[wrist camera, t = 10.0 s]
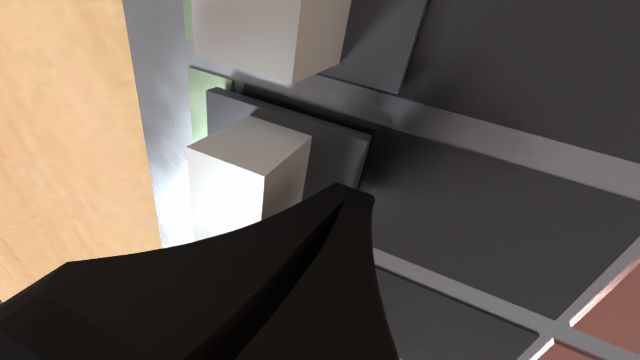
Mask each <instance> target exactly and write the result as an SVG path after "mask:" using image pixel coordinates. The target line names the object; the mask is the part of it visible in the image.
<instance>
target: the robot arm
mask: <svg viewBox="0 0 640 360" xmlns="http://www.w3.org/2000/svg"><path fill="white" fill-rule="evenodd" d="M374 203H375V198H374V196H373V195H371V194H368V193H365V192H363V191H360V190H357V189H354V188H351V187H349V186H346V185H343V184H340V183H337V182H335V183H333V184H331V185H329V186H328V187H326V188H324V189H322V190H321V191H319V192H317V193H316V194H314V195H312V196H310V197H308V198H307V199H305V200H303V201H301V202H299V203H297V204H295V205H293V206H291V207H289V208H287V209H285V210H283V211H281V212H279V213H277V214H274V215H272V216H270V217H268V218H266V219H263V220H261V221H258V222H256V223H253V224H251V225H248V226H245V227H242V228H240V229H237V230H234V231H231V232H227V233H224V234H220V235H217V236H213V237H209V238H206V239H202V240H198V241H194V242H191V243H186V244H182V245H177V246H172V247H168V248H163V249H157V250H152V251H146V252H140V253H134V254H128V255H120V256H112V257H105V258H97V259H89V260H82V261H72V262H67V263H65V264H63V265H62V266H60V267H58V268H57V269H55V270H54V271H52V272H51V273H49V274H47V275H46V276H44V277H43V278H41V279H40V280H38V281H36V282H35V283H33V284H32V285H30V286H29V287H27V288H26V289H24V290H22V291H21V292H19V293H18V294H16V295H15V296H13V297H11V298H10V299H8V300H7V301H5V302H4V303H2V304H1V305H0V360H400V359H399V356H398V353H397V350H396V347H395V344H394V341H393V337H392V334H391V331H390V328H389V325H388V322H387V318H386V315H385V311H384V307H383V303H382V299H381V295H380V290H379V286H378V281H377V275H376V269H375V262H374V255H373V245H372V211H373V206H374Z"/></svg>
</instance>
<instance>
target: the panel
mask: <svg viewBox="0 0 640 360" xmlns="http://www.w3.org/2000/svg"><path fill="white" fill-rule="evenodd" d="M122 1H123V7H124V14H125V20H126V26H127V32H128V38H129V44H130V51H131V57H132V63H133V69H134V75H135V82H136V88H137V94H138V100H139V106H140V113H141V119H142V125H143V131H144V137H145V143H146V150H147V156H148V162H149V168H150V174H151V181H152V187H153V193H154V199H155V205H156V211H157V218H158V224H159V230H160V236H161V242H162V248H168V247H172V246H177V245H182V244H186V243H191V242H194V240H193V228H192V215H191V203H190V191H189V179H188V167H187V155H186V147H187V146H189V145H191V144H193V143H195V142H197V141H199V140H201V139H203V138H205V137H207V136H208V134H207V107H206V90H208V89H212V88H215V87H219V88H222V89H225V90H229V91H232V92H235V93H238V94H241V95H245V96H248V97H251V98H254V99H257V100H261V101H264V102H267V103H270V104H273V105H277V106H280V107H283V108H286V109H289V110H293V111H296V112H299V113H302V114H305V115H309V116H312V117H315V118H318V119H321V120H325V121H328V122H331V123H334V124H337V125H341V126H344V127H347V128H350V129H353V130H357V131H360V132H363V133H366V134H369V135H372V138H371V141H370V145H369V148H368V152H367V155H366V159H365V162H364V166H363V170H362V173H361V177H360V180H359V184H358V187H357V190H360V191H363V192H365V193H368V194H371V195H373V196H374V198H375V203H374V206H373V211H372V245H373V255H374V262H375V269H376V275H377V281H378V286H379V290H380V295H381V299H382V303H383V307H384V311H385V315H386V318H387V322H388V325H389V328H390V331H391V334H392V337H393V341H394V344H395V347H396V350H397V353H398V356H399V359H400V360H640V0H429V1H428V4H427V7H426V10H425V14H424V17H423V20H422V23H421V26H420V30H419V33H418V36H417V39H416V43H415V46H414V49H413V52H412V55H411V59H410V62H409V65H408V68H407V72H406V75H405V78H404V81H403V84H402V88H401V90H400V92H399V93H398V94H394V93H390V92H386V91H383V90H379V89H375V88H372V87H368V86H364V85H361V84H357V83H353V82H350V81H346V80H342V79H339V78H335V77H332V76H328V75H324V74H321V73H317V74H314V75H312V76H310V77H307V78H305V79H303V80H301V81H298V82H296V83H294V84H288V83H285V82H282V81H278V80H275V79H271V78H268V77H264V76H261V75H257V74H254V73H250V72H247V71H244V70H240V69H237V68H233V67H230V66H226V65H223V64H219V63H216V62H213V61H209V60H206V59H202V58H199V57H195V56H194V44H193V26H192V8H191V0H122Z"/></svg>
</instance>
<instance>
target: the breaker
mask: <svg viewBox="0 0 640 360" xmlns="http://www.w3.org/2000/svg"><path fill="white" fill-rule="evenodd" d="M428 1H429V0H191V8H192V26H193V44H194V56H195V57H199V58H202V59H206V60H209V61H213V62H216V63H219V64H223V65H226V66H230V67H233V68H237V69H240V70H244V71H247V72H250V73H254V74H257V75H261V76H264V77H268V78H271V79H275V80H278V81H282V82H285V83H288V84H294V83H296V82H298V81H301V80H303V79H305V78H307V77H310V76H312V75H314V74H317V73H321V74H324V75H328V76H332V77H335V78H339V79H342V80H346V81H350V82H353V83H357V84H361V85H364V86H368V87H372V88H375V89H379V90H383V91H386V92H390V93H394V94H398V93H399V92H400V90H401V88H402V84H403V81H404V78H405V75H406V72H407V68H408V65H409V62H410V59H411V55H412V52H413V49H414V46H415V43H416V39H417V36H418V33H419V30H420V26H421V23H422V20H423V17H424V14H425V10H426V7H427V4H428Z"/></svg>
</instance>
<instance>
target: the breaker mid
mask: <svg viewBox="0 0 640 360" xmlns="http://www.w3.org/2000/svg"><path fill="white" fill-rule="evenodd" d="M206 107H207V134H208V136H207V137H205V138H203V139H201V140H199V141H197V142H195V143H193V144H191V145H189V146H187V147H186V155H187V167H188V179H189V191H190V203H191V215H192V228H193V240H194V241H198V240H202V239H206V238H209V237H213V236H217V235H220V234H224V233H227V232H231V231H234V230H237V229H240V228H242V227H245V226H248V225H251V224H253V223H256V222H258V221H261V220H263V219H266V218H268V217H270V216H272V215H274V214H277V213H279V212H281V211H283V210H285V209H287V208H289V207H291V206H293V205H295V204H297V203H299V202H301V201H303V200H305V199H307V198H308V197H310V196H312V195H314V194H316V193H317V192H319V191H321V190H322V189H324V188H326V187H328V186H329V185H331V184H333V183H335V182H337V183H340V184H343V185H346V186H349V187H351V188H354V189H357V187H358V184H359V180H360V177H361V173H362V170H363V166H364V162H365V159H366V155H367V152H368V148H369V145H370V141H371V138H372V135H369V134H366V133H363V132H360V131H357V130H353V129H350V128H347V127H344V126H341V125H337V124H334V123H331V122H328V121H325V120H321V119H318V118H315V117H312V116H309V115H305V114H302V113H299V112H296V111H293V110H289V109H286V108H283V107H280V106H277V105H273V104H270V103H267V102H264V101H261V100H257V99H254V98H251V97H248V96H245V95H241V94H238V93H235V92H232V91H229V90H225V89H222V88H219V87H215V88H212V89H208V90H206Z"/></svg>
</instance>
